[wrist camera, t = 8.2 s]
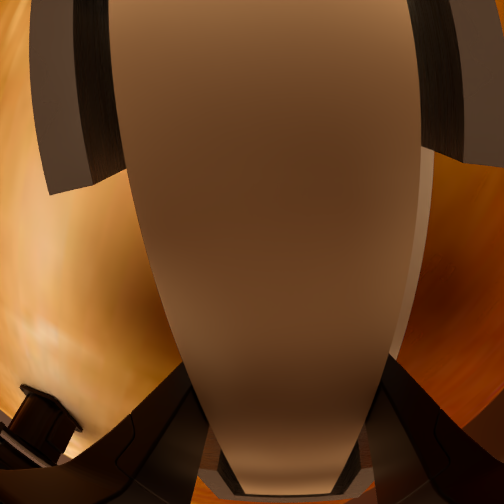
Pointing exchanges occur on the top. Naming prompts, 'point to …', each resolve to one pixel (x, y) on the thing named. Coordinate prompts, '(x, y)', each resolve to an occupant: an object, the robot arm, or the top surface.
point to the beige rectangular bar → (274, 211)
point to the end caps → (113, 161)
